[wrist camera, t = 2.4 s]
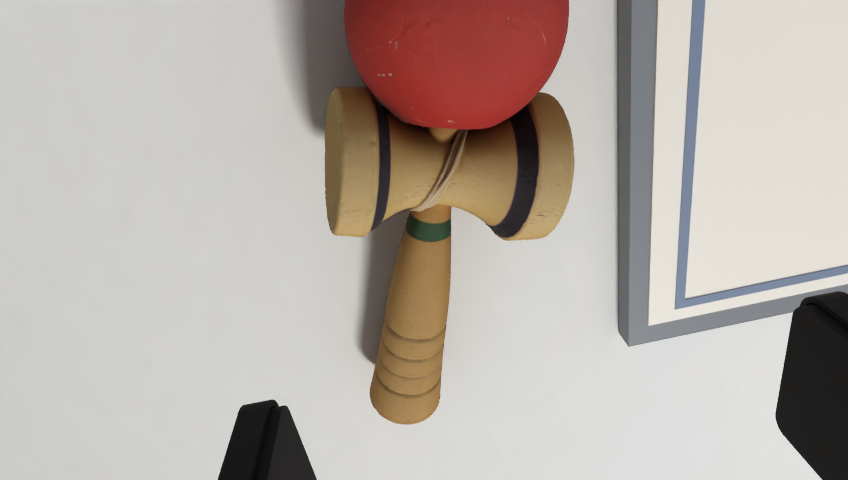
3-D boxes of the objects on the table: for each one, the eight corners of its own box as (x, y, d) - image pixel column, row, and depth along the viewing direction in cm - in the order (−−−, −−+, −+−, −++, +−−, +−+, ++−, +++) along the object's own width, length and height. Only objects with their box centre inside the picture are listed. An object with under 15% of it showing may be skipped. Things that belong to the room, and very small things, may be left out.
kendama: (498, 348, 26) (613, -94, 15) (502, 469, 20) (680, -75, 10) (337, 325, 26) (345, -128, 16) (300, 441, 21) (276, -127, 10)
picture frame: (617, -344, 14) (637, -369, 13) (1069, -431, 14) (1124, -461, 13) (618, 332, 24) (630, 348, 23) (878, 277, 24) (900, 291, 23)
